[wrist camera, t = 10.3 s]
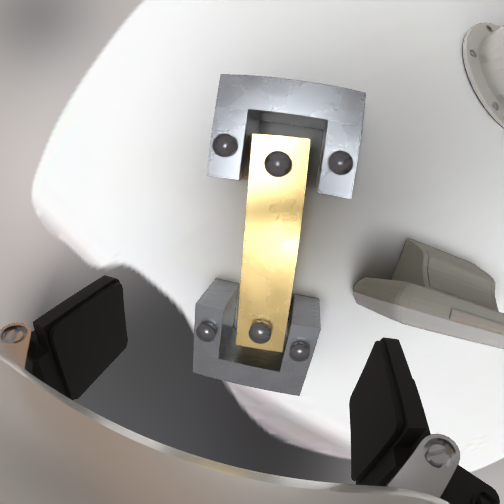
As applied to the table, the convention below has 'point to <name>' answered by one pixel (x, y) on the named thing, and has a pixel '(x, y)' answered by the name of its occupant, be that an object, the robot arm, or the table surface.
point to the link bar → (271, 238)
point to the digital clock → (436, 295)
